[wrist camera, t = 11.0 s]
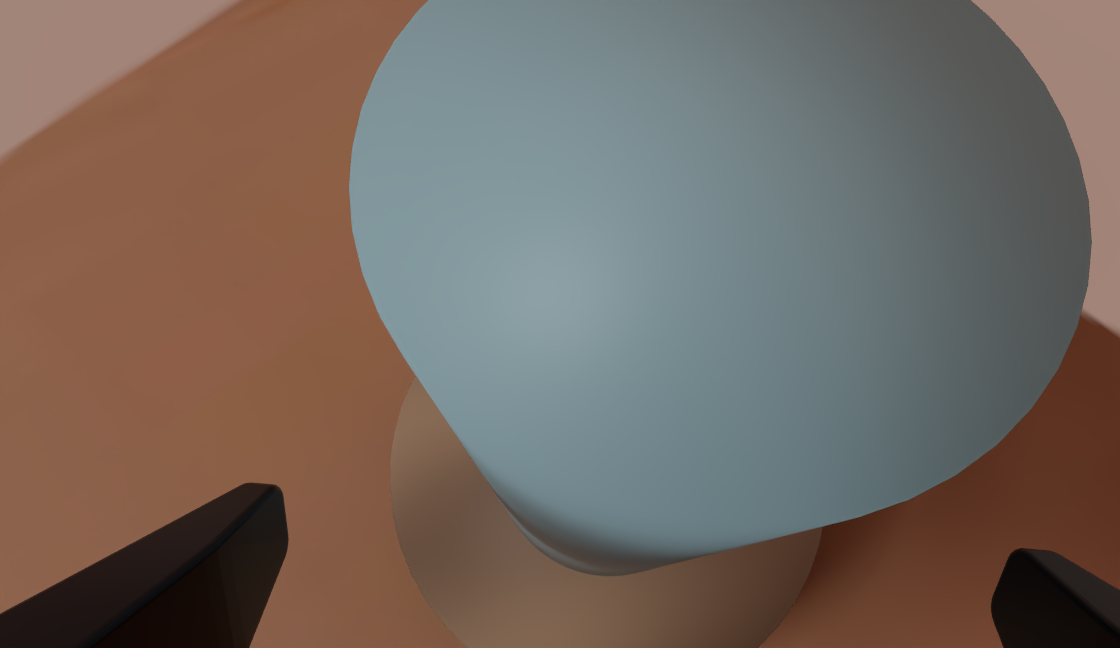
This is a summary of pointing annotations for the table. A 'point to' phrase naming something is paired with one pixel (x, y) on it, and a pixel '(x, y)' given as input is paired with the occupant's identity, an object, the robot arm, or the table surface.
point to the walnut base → (552, 589)
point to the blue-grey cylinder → (717, 256)
